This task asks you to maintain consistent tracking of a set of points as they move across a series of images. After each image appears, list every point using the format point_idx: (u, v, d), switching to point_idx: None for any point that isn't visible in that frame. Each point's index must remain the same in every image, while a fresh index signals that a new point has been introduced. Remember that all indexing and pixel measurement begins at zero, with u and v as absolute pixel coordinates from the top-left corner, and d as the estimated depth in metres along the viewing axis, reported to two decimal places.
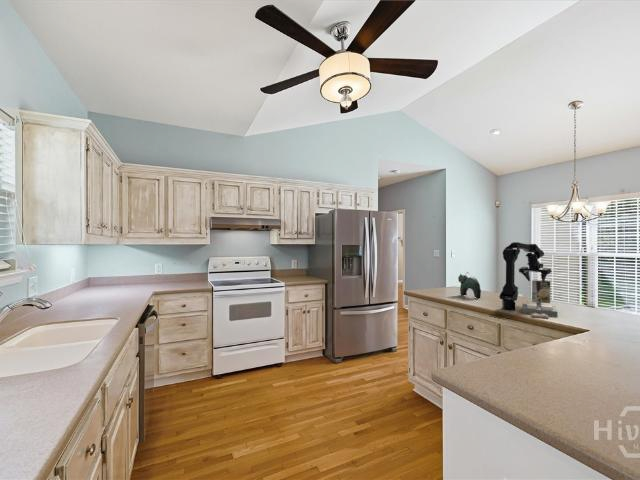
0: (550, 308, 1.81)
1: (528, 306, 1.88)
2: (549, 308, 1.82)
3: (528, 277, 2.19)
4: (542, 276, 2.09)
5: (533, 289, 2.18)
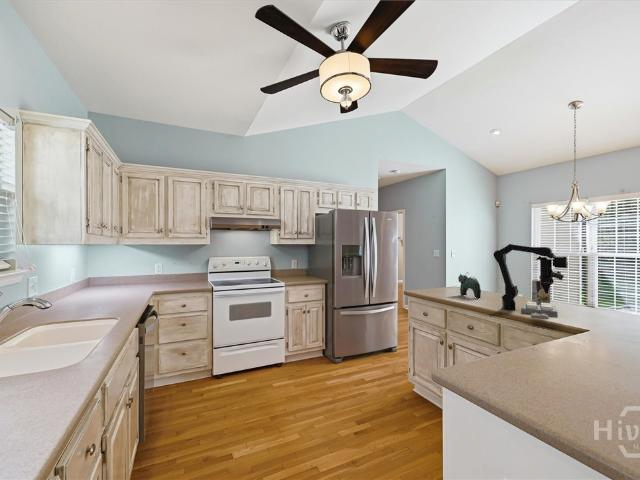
0: (550, 308, 1.81)
1: (528, 306, 1.88)
2: (549, 308, 1.82)
3: None
4: (541, 284, 1.82)
5: (533, 289, 2.18)
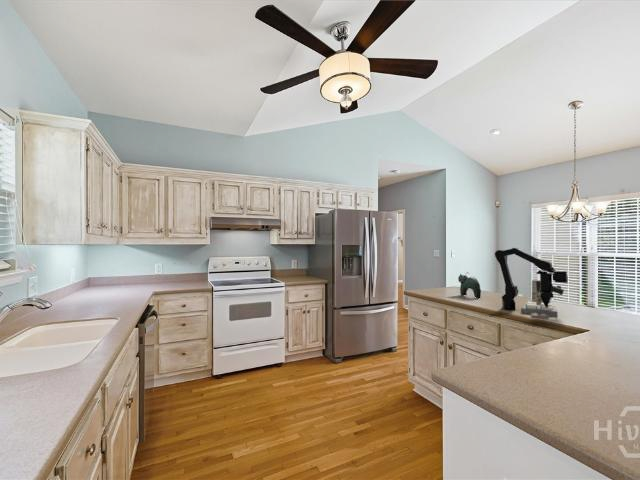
0: (550, 309, 1.81)
1: (528, 306, 1.88)
2: (549, 309, 1.82)
3: None
4: (541, 298, 1.85)
5: (533, 289, 2.18)
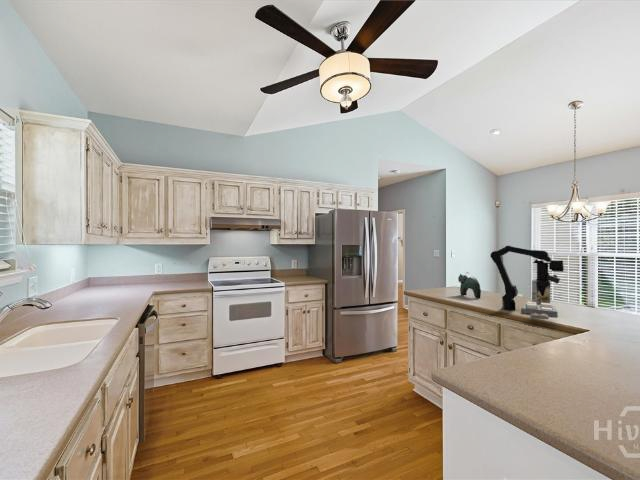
0: None
1: (528, 306, 1.88)
2: None
3: None
4: (537, 286, 1.87)
5: (533, 289, 2.18)
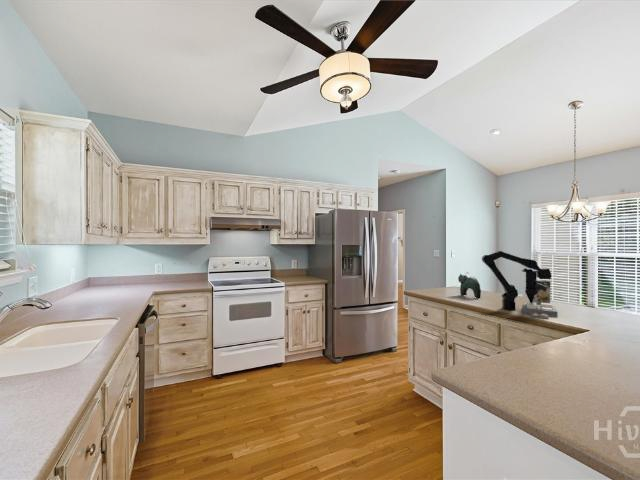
0: None
1: (528, 306, 1.88)
2: None
3: None
4: (526, 294, 1.95)
5: None
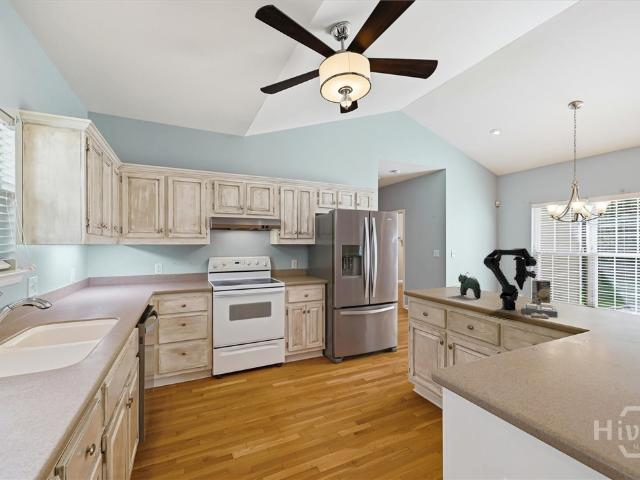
0: None
1: (528, 306, 1.88)
2: None
3: None
4: (516, 281, 2.02)
5: (533, 289, 2.18)
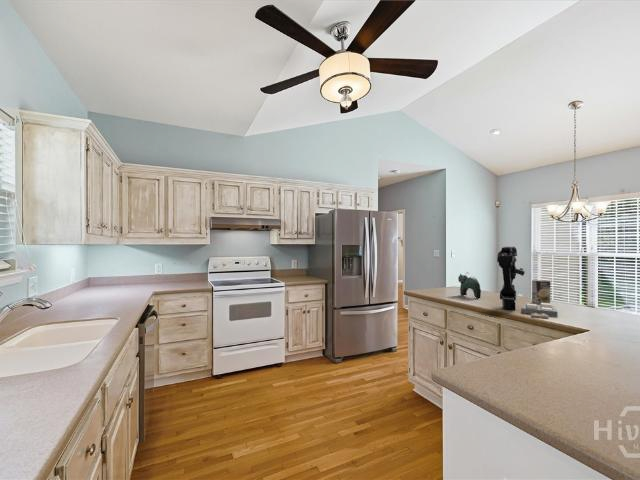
0: None
1: (528, 306, 1.88)
2: None
3: None
4: None
5: (533, 289, 2.18)
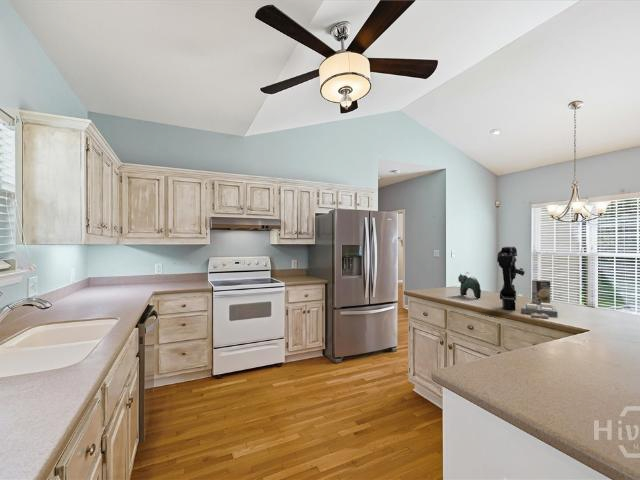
0: None
1: (528, 306, 1.88)
2: None
3: None
4: None
5: (533, 289, 2.18)
